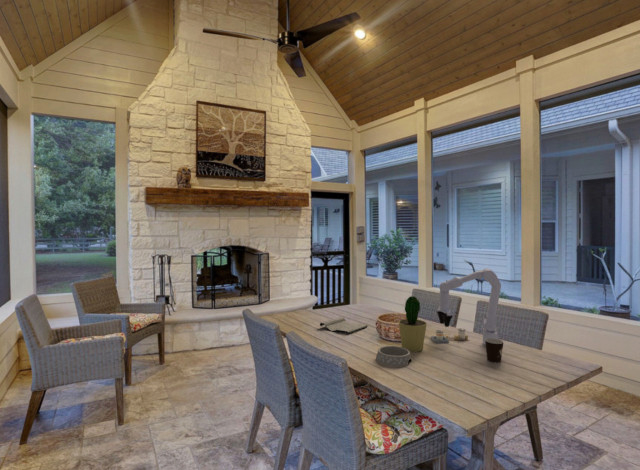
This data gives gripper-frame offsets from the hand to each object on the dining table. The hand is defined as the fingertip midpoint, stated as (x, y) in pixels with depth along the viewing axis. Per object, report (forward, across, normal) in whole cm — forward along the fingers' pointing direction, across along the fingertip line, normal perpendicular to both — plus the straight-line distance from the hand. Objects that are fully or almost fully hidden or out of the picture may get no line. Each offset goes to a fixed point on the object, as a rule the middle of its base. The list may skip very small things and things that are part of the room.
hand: (444, 324), depth 226 cm
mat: (+10, -31, -57) cm, 66 cm away
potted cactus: (+10, +12, -23) cm, 28 cm away
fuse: (+9, -1, +11) cm, 14 cm away
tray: (+10, +2, -3) cm, 10 cm away
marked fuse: (+9, +2, -3) cm, 10 cm away
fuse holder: (+10, -1, +8) cm, 13 cm away
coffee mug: (+10, +32, +15) cm, 37 cm away
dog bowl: (+10, +30, -38) cm, 50 cm away
